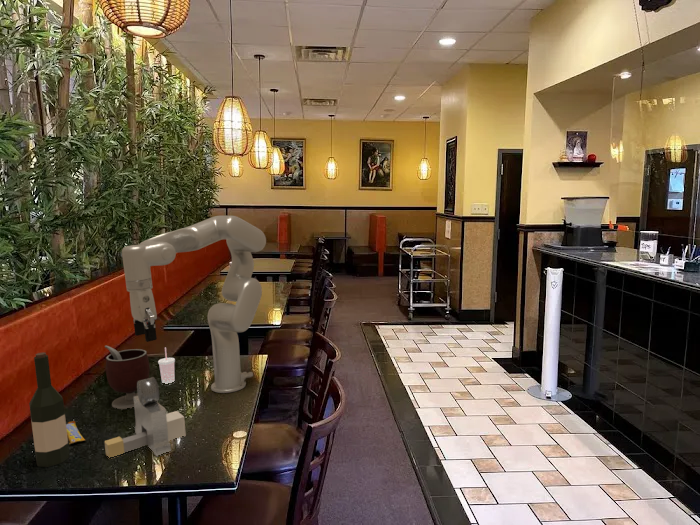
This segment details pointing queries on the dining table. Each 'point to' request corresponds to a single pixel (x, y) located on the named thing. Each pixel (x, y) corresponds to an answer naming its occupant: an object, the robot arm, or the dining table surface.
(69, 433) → the candy bar
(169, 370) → the beverage cup
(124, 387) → the mate gourd
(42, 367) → the wine bottle
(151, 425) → the bulkhead
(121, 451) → the plug
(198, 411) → the dining table surface
